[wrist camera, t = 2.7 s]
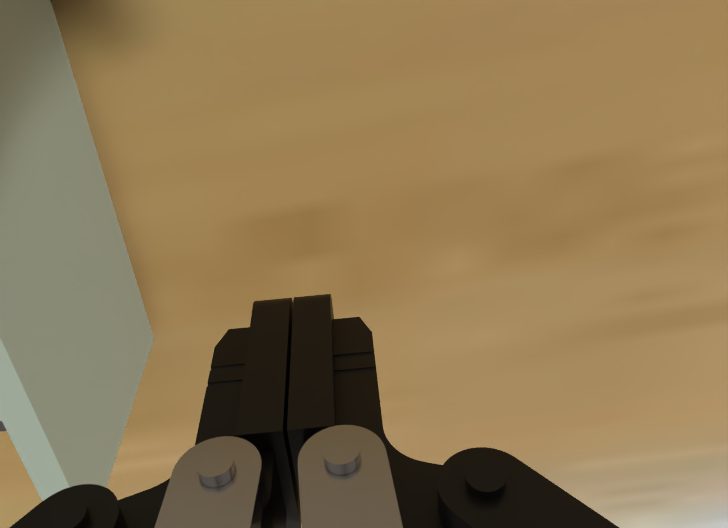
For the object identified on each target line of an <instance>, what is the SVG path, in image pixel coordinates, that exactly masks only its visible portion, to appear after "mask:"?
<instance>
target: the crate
mask: <svg viewBox="0 0 728 528" xmlns="http://www.w3.org/2000/svg"><path fill="white" fill-rule="evenodd" d="M153 340H154V337H153V334H152V331H151V327H150V324H149V321H148V318H147V314H146V311H145V308H144V304H143V301H142V298H141V295H140V291H139V288H138V285H137V282H136V278H135V275H134V272H133V268H132V265H131V262H130V259H129V255H128V252H127V249H126V246H125V242H124V239H123V236H122V233H121V229H120V226H119V223H118V219H117V216H116V213H115V210H114V206H113V203H112V200H111V197H110V193H109V190H108V187H107V184H106V180H105V177H104V174H103V170H102V167H101V164H100V161H99V157H98V154H97V151H96V148H95V144H94V141H93V138H92V135H91V131H90V128H89V125H88V121H87V118H86V115H85V112H84V108H83V105H82V102H81V99H80V95H79V92H78V89H77V86H76V82H75V79H74V76H73V72H72V69H71V66H70V63H69V59H68V56H67V53H66V50H65V46H64V43H63V40H62V37H61V33H60V30H59V27H58V23H57V20H56V17H55V14H54V10H53V7H52V4H51V1H50V0H0V421H2V422H3V424H4V426H5V428H6V430H7V432H8V434H9V436H10V438H11V440H12V442H13V444H14V446H15V448H16V450H17V452H18V454H19V456H20V458H21V460H22V462H23V464H24V466H25V468H26V470H27V472H28V474H29V476H30V478H31V479H32V481H33V483H34V485H35V487H36V489H37V491H38V493H39V495H40V497H41V499H42V501H44V500H45V499H47V498H48V497H50V496H51V495H53V494H55V493H57V492H59V491H61V490H63V489H66V488H69V487H72V486H76V485H81V484H96V485H100V486H103V487H105V488H106V487H107V483H108V480H109V477H110V474H111V471H112V468H113V465H114V462H115V459H116V455H117V452H118V449H119V446H120V443H121V440H122V437H123V434H124V431H125V428H126V424H127V421H128V418H129V415H130V412H131V409H132V406H133V403H134V400H135V396H136V393H137V390H138V387H139V384H140V381H141V378H142V375H143V372H144V368H145V365H146V362H147V359H148V356H149V353H150V350H151V347H152V344H153Z"/></svg>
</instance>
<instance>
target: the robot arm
mask: <svg viewBox="0 0 728 528" xmlns="http://www.w3.org/2000/svg"><path fill="white" fill-rule="evenodd" d="M301 523H302V528H619V527H617V526H616V525H614V524H613V523H611V522H610V521H608V520H607V519H605V518H604V517H603V516H601V515H600V514H598V513H597V512H595V511H594V510H592V509H591V508H589V507H588V506H586V505H585V504H583V503H582V502H580V501H579V500H577V499H576V498H574V497H573V496H571V495H570V494H568V493H567V492H565V491H564V490H563V489H561V488H560V487H558V486H557V485H555V484H554V483H552V482H551V481H549V480H548V479H546V478H545V477H543V476H542V475H540V474H539V473H537V472H536V471H534V470H533V469H531V468H530V467H528V466H527V465H525V464H524V463H523V462H521V461H520V460H518V459H517V458H515V457H513V456H512V455H510V454H508V453H506V452H503V451H501V450H497V449H493V448H470V449H466V450H463V451H461V452H458V453H456V454H455V455H453V456H452V457H450V458H449V459H448V460H447V461H446V462H445V463H444V465H438V464H432V463H427V462H422V461H418V460H415V459H412V458H409V457H407V456H405V455H403V454H402V453H400V452H399V451H397V450H396V449H395V448H394V447H393V446H392V445H391V444H390V443H389V441H388V440H387V438H386V436H385V434H384V430H383V425H382V416H381V407H380V399H379V390H378V381H377V373H376V364H375V355H374V347H373V338H372V332H371V331H370V329H369V328H368V327H367V326H366V325H365V323H364V322H363V321H362V320H361V318H360V317H353V318H342V319H334V315H333V307H332V299H331V294H326V295H315V296H304V297H294V300H293V301H292V298H285V299H274V300H263V301H254V303H253V310H252V317H251V324H250V327H248V328H238V329H229V330H228V331H227V333H226V334H225V335H224V336H223V338H222V339H221V340H220V341H219V343H218V344H217V345H216V346H215V349H214V354H213V359H212V364H211V371H210V374H209V379H208V387H207V388H206V393H205V398H204V403H203V408H202V413H201V418H200V423H199V428H198V433H197V438H196V443H195V446H194V447H192V448H190V449H189V450H188V451H187V452H186V453H184V454H183V456H182V457H181V458H180V459H179V460H178V462H177V463H176V465H175V467H174V469H173V472H172V475H171V478H170V479H168V480H167V481H165V482H163V483H161V484H160V485H158V486H155V487H153V488H151V489H148V490H145V491H143V492H140V493H137V494H134V495H132V496H129V497H126V498H123V499H121V500H117V498H116V496H115V495H114V493H113V492H111V491H110V490H109V489H107V488H105V487H103V486H100V485H96V484H81V485H76V486H72V487H69V488H66V489H63V490H61V491H59V492H57V493H55V494H53V495H51V496H50V497H48V498H47V499H45V500H44V501H43V502H41V503H40V504H39V505H37V506H36V507H35V508H34V509H32V510H31V511H30V512H29V513H27V514H26V515H25V516H24V517H22V518H21V519H20V520H19V521H17V522H16V523H15V524H14V525H12V526H11V527H10V528H301Z"/></svg>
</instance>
